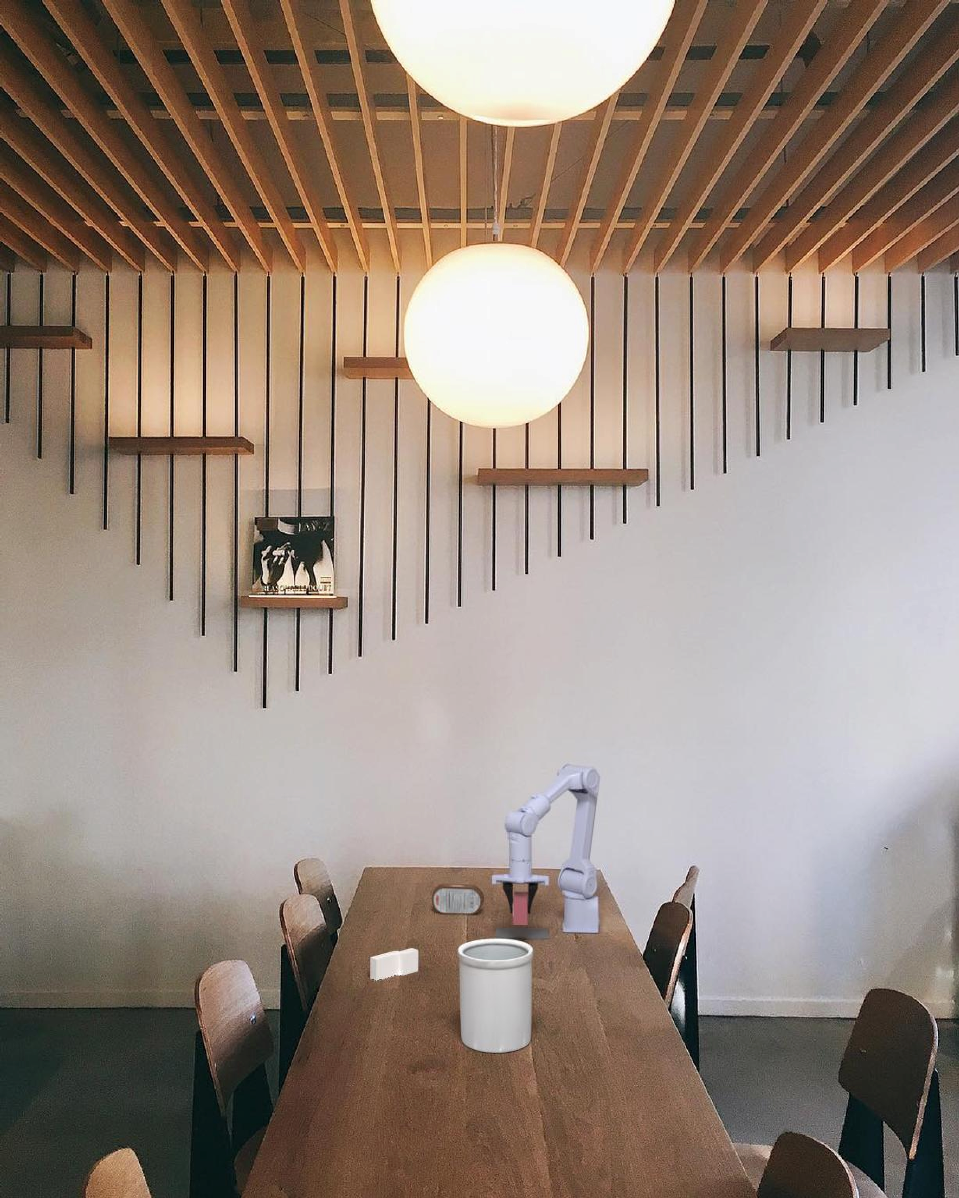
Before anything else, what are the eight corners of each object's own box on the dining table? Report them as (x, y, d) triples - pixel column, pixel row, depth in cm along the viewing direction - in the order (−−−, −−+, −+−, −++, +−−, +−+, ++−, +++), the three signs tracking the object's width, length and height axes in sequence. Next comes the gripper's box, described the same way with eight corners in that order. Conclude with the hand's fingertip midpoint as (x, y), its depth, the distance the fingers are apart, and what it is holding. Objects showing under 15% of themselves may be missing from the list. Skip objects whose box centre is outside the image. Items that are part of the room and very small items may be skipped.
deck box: (528, 914, 253) (528, 891, 253) (527, 925, 244) (527, 900, 245) (513, 914, 254) (513, 891, 254) (512, 924, 245) (512, 900, 245)
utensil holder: (446, 1030, 195) (446, 942, 196) (513, 1019, 201) (513, 933, 202) (475, 1060, 181) (475, 964, 182) (546, 1047, 187) (546, 954, 188)
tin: (484, 913, 280) (484, 883, 280) (483, 916, 277) (483, 886, 277) (432, 911, 281) (432, 882, 282) (430, 914, 278) (430, 884, 279)
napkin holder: (363, 986, 221) (364, 960, 222) (365, 969, 233) (366, 945, 233) (429, 984, 223) (429, 959, 223) (428, 968, 234) (428, 943, 234)
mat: (548, 930, 263) (548, 928, 263) (547, 939, 255) (547, 937, 255) (496, 928, 264) (496, 927, 264) (494, 937, 256) (494, 936, 256)
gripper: (491, 861, 246) (491, 916, 246) (548, 862, 245) (548, 917, 245) (492, 855, 253) (492, 908, 253) (548, 856, 252) (548, 909, 252)
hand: (520, 912), depth 249 cm, fingers closed on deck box, 4 cm apart
